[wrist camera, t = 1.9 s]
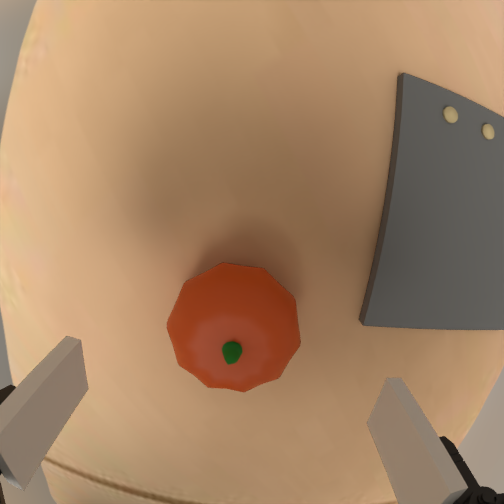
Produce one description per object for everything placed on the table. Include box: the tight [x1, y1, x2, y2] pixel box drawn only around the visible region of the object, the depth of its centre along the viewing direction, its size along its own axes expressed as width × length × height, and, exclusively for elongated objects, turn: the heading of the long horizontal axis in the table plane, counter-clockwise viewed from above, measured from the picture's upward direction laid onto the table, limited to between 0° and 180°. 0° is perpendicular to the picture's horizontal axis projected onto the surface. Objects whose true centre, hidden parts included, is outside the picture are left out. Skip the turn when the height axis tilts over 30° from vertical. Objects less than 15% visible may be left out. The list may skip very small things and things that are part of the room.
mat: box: [359, 73, 504, 330], centre depth 20 cm, size 18×16×1 cm
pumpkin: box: [167, 263, 301, 392], centre depth 18 cm, size 8×8×7 cm
